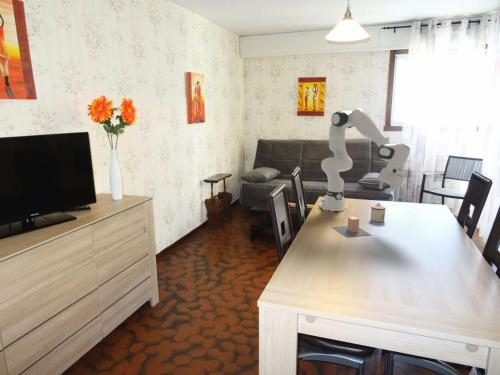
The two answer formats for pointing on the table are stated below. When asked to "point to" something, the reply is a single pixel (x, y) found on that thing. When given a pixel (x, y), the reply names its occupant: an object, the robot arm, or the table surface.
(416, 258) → the table surface
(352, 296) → the table surface
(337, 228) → the charcoal mat
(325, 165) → the robot arm
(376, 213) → the teacup with lid
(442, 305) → the table surface
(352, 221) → the terracotta block
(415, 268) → the table surface
